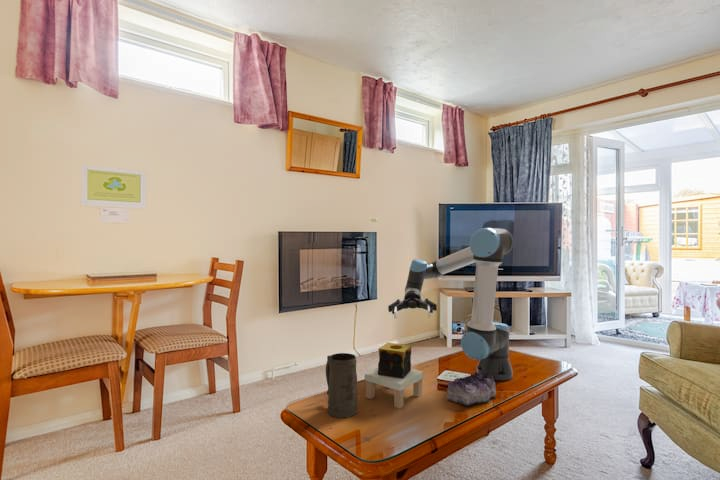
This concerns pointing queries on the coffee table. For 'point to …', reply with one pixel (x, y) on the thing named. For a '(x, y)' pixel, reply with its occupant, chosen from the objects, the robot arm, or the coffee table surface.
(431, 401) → the coffee table surface
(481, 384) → the geode
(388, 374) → the candle
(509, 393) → the coffee table surface
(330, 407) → the beer stein
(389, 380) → the footstool
